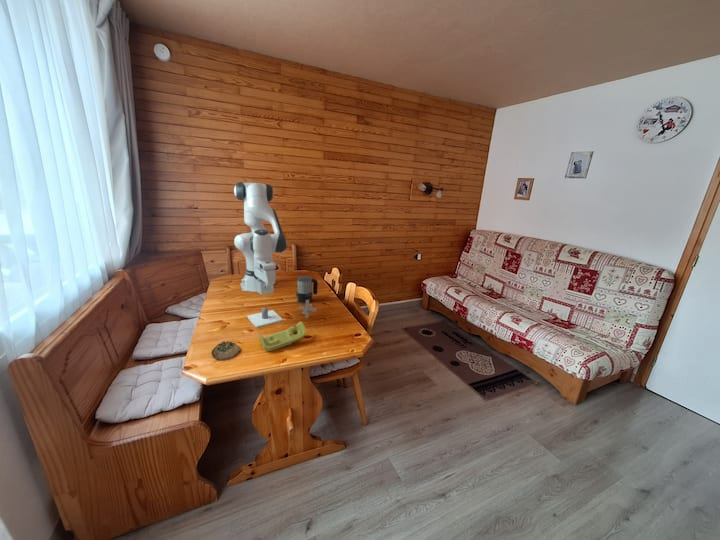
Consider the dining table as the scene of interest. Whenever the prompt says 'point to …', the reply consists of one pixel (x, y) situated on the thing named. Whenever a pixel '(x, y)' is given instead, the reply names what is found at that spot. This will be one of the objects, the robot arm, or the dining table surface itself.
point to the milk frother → (306, 289)
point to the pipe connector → (307, 308)
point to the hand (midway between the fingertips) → (264, 288)
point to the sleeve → (263, 287)
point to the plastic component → (283, 337)
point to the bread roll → (225, 350)
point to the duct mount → (264, 318)
